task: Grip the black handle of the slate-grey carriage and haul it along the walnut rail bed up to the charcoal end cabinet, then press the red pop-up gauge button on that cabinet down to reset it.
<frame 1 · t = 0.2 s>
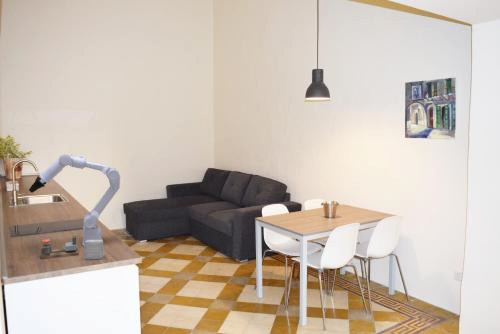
hand: (30, 190, 210), 31 cm above the table, tool tilted 45°, fingers open, 7 cm apart
rail bed: (60, 254, 204), on the table
reset button: (46, 241, 201), point 7 cm above the table, slide at 0.0 cm
medicine box: (94, 258, 198), on the table
carriage: (70, 242, 206), point 5 cm above the table, slide at 0.0 cm
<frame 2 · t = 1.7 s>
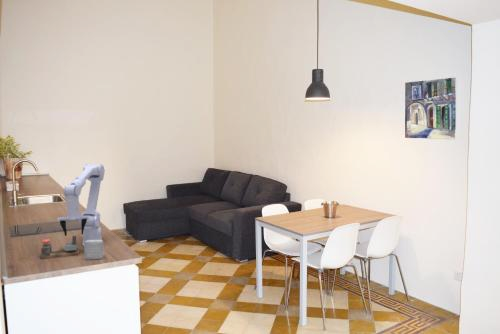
hand: (74, 234, 206), 9 cm above the table, tool pointing down, fingers open, 7 cm apart
nothing on the table moved.
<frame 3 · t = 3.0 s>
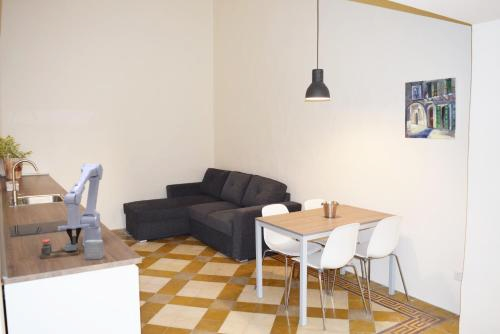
hand: (74, 243, 206), 5 cm above the table, tool pointing down, fingers closed on carriage, 2 cm apart
carriage: (70, 242, 206), point 5 cm above the table, slide at 0.0 cm, touching gripper
everything else where it was.
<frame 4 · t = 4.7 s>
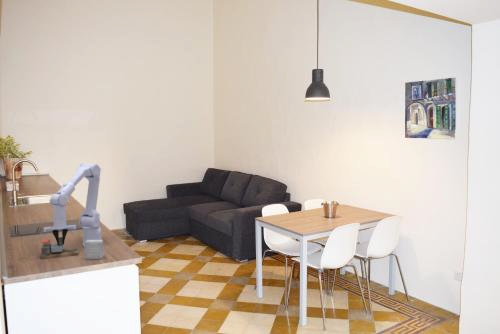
hand: (60, 244, 204), 5 cm above the table, tool pointing down, fingers closed on carriage, 2 cm apart
carriage: (57, 244, 203), point 5 cm above the table, slide at 6.3 cm, touching gripper
everything else where it was.
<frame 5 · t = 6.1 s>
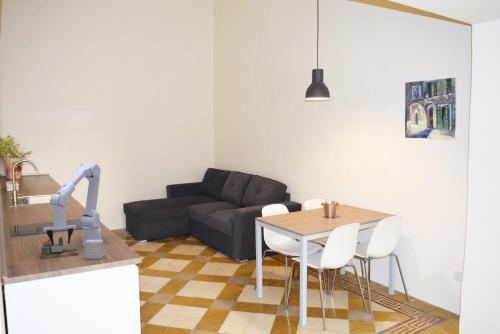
hand: (60, 244, 204), 5 cm above the table, tool pointing down, fingers open, 7 cm apart
reset button: (46, 241, 201), point 7 cm above the table, slide at 0.0 cm, touching gripper
carriage: (57, 244, 203), point 5 cm above the table, slide at 6.3 cm
everything else where it was.
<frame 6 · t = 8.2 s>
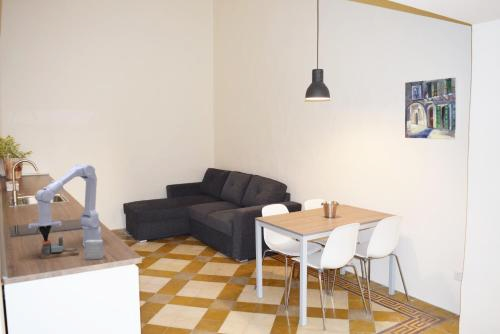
hand: (46, 241, 201), 7 cm above the table, tool pointing down, fingers closed, pressing on reset button
reset button: (46, 241, 201), point 7 cm above the table, slide at 0.4 cm, touching gripper
everything else where it was.
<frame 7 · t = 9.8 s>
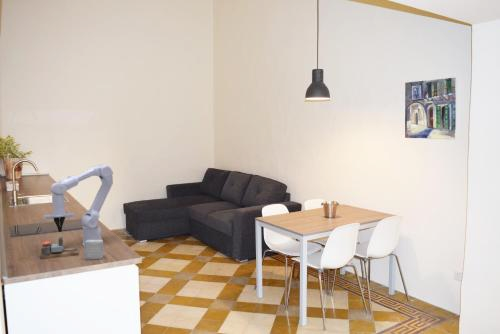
hand: (60, 231, 213), 9 cm above the table, tool pointing down, fingers closed
reset button: (46, 243, 201), point 6 cm above the table, slide at 1.0 cm
everything else where it was.
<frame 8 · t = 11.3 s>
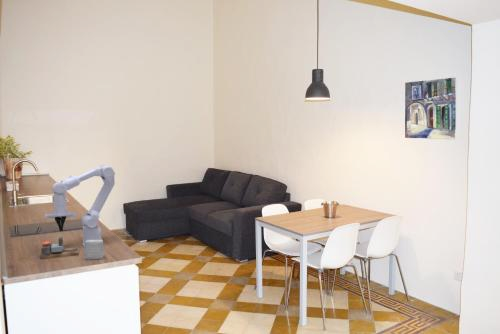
hand: (61, 230, 214), 9 cm above the table, tool pointing down, fingers closed
nothing on the table moved.
at the end: carriage slide at 6.3 cm; reset button slide at 1.0 cm; the gripper is holding nothing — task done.
